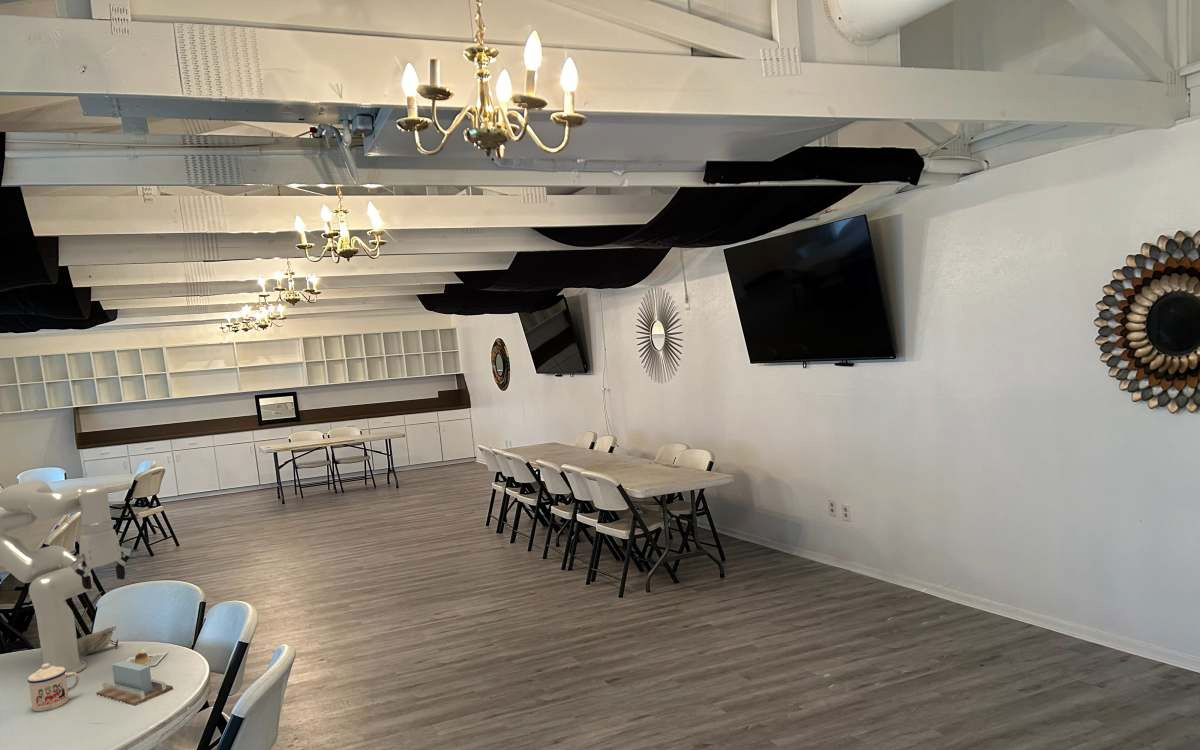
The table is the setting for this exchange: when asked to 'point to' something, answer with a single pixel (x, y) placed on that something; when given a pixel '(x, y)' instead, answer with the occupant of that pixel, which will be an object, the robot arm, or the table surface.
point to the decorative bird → (95, 641)
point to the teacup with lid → (49, 687)
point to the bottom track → (132, 692)
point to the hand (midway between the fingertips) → (104, 583)
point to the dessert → (145, 657)
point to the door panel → (132, 675)
